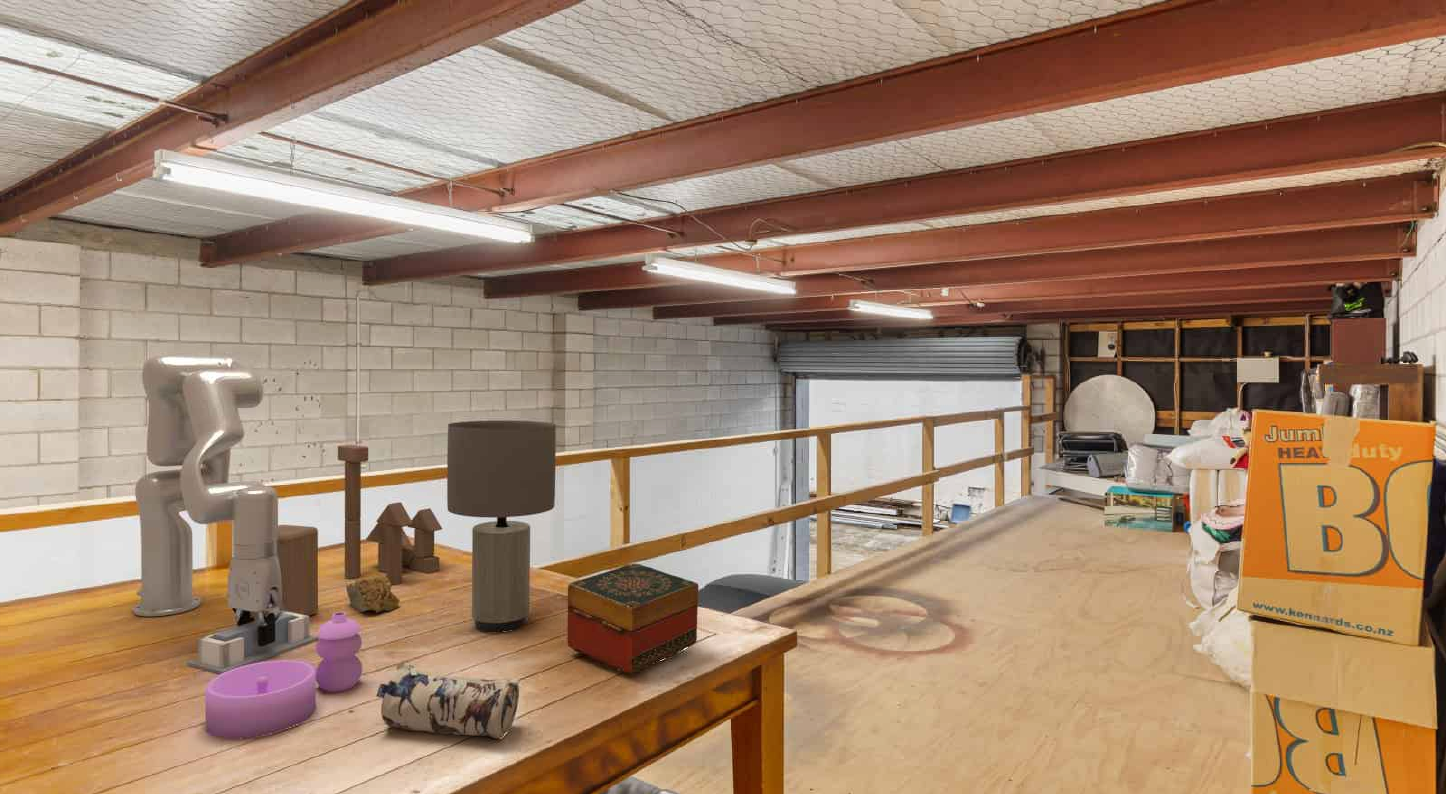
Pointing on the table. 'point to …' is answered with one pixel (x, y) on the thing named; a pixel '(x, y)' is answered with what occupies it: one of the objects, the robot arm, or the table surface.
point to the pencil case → (448, 703)
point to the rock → (372, 594)
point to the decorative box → (632, 616)
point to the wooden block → (298, 569)
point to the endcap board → (231, 653)
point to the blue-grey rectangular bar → (256, 634)
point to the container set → (282, 686)
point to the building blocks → (385, 528)
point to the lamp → (500, 509)
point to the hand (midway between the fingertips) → (256, 640)
